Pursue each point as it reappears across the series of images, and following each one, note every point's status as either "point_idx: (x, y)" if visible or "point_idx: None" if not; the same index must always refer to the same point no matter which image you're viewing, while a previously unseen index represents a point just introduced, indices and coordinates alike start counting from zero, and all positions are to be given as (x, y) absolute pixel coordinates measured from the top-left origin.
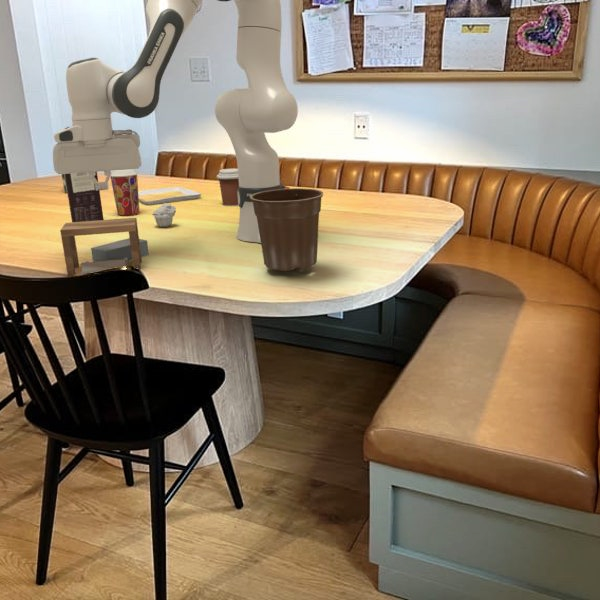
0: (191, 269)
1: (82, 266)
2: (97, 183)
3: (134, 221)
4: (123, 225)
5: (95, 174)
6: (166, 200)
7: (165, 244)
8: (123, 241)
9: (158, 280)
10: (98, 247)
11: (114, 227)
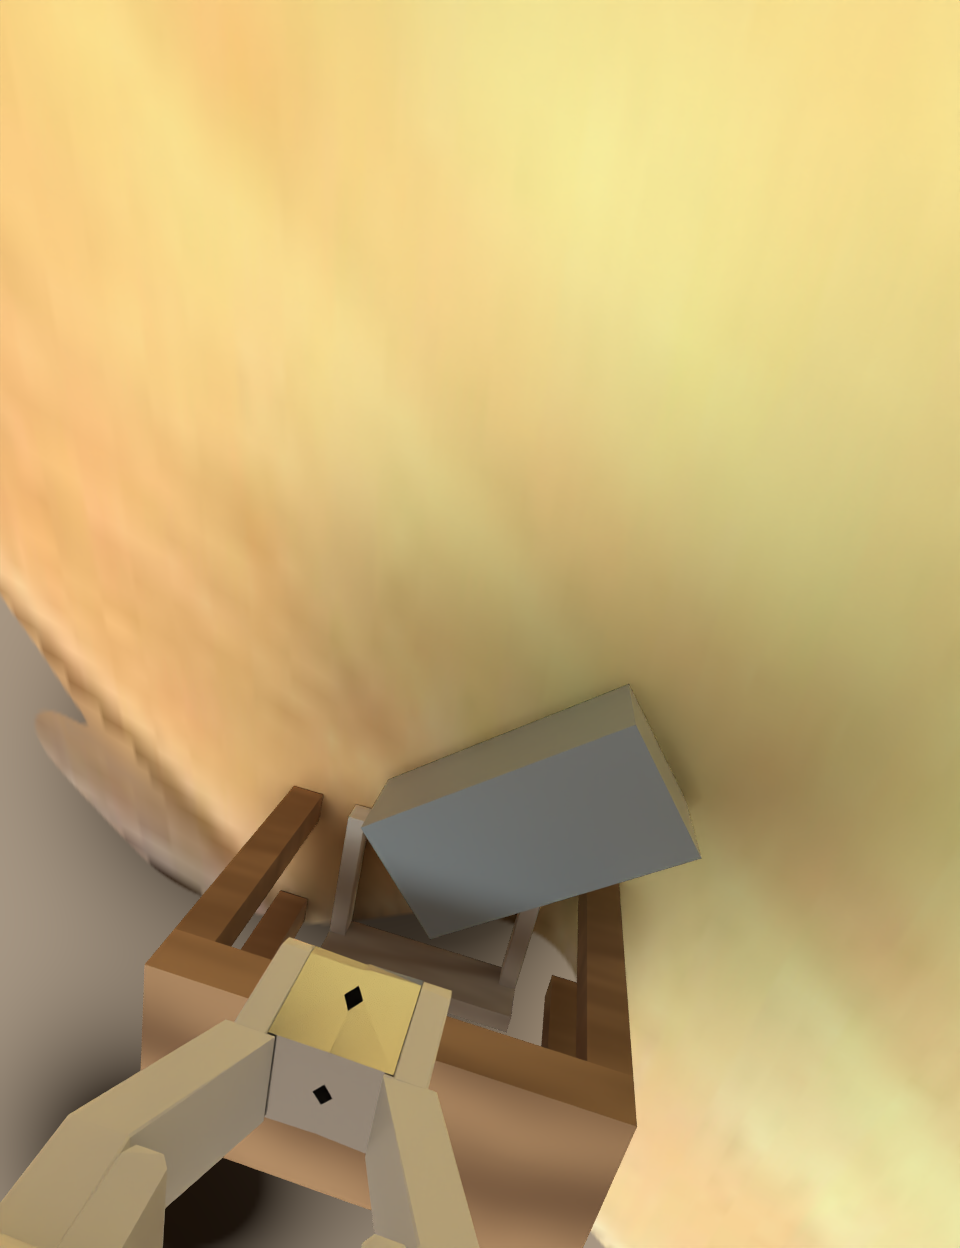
0: (778, 1126)
1: None
2: (266, 1113)
3: (589, 1214)
4: None
5: (162, 1184)
6: None
7: (875, 620)
8: (558, 795)
9: None
10: (400, 842)
11: None
